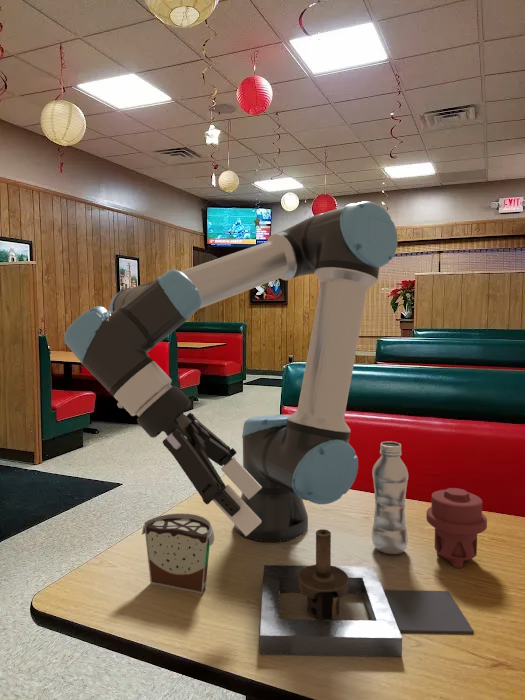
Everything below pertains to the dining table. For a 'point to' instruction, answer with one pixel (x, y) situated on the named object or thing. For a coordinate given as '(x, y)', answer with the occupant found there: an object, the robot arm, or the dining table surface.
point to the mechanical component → (456, 524)
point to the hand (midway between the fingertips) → (254, 509)
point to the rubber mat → (426, 612)
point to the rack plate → (328, 634)
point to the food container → (178, 550)
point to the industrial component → (323, 581)
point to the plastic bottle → (390, 500)
